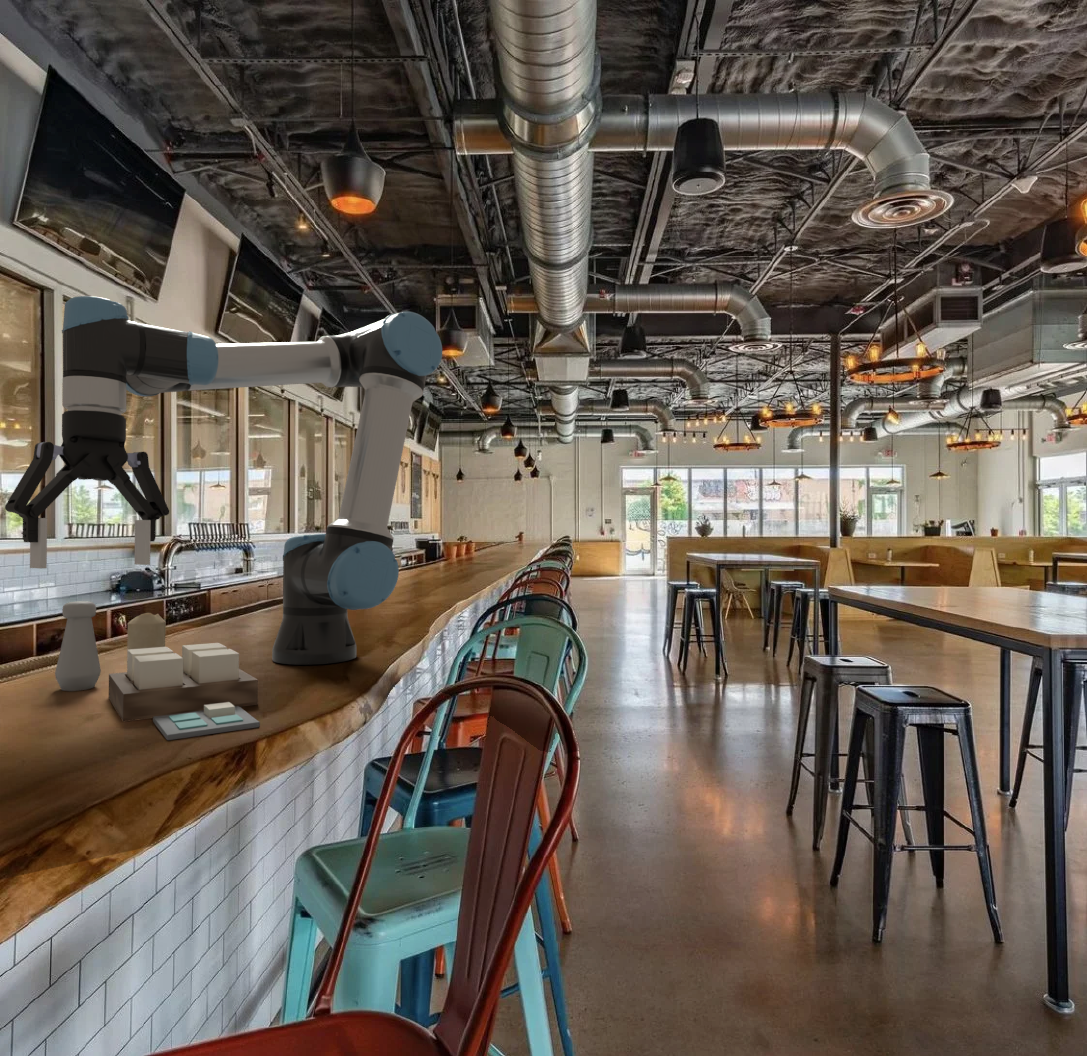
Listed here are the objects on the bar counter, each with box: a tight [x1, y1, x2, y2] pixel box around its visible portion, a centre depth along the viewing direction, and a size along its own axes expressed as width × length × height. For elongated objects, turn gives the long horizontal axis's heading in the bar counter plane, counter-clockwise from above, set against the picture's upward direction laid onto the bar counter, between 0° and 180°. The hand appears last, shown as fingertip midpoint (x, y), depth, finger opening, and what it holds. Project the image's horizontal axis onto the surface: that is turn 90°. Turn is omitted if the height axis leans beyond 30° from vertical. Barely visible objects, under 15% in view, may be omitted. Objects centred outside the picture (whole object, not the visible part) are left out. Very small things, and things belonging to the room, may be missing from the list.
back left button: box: [181, 642, 228, 675], centre depth 105 cm, size 5×5×4 cm
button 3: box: [192, 648, 240, 684], centre depth 99 cm, size 5×5×4 cm
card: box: [152, 702, 260, 741], centre depth 88 cm, size 10×10×2 cm
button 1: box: [126, 646, 174, 681], centre depth 100 cm, size 5×5×4 cm
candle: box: [126, 612, 167, 650], centre depth 119 cm, size 6×6×10 cm
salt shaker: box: [54, 600, 102, 692], centre depth 108 cm, size 6×6×13 cm
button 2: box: [134, 652, 183, 690], centre depth 95 cm, size 5×5×4 cm
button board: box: [108, 668, 259, 723], centre depth 100 cm, size 16×16×3 cm
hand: (93, 566), depth 99 cm, fingers open, 13 cm apart
